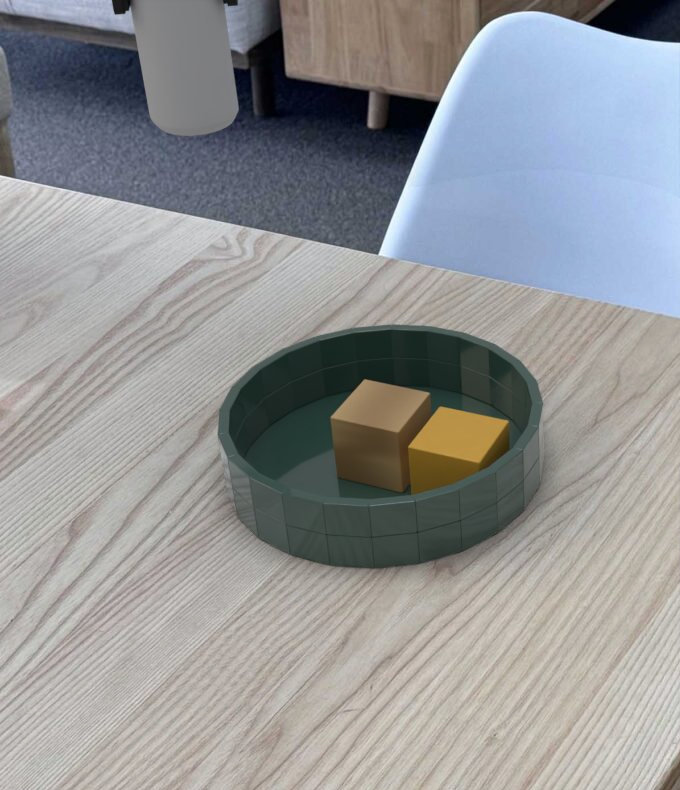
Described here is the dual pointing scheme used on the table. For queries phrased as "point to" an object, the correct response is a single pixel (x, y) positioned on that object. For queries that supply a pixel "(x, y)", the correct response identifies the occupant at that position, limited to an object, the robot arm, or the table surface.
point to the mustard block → (455, 448)
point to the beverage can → (186, 64)
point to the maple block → (378, 433)
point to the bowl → (360, 501)
